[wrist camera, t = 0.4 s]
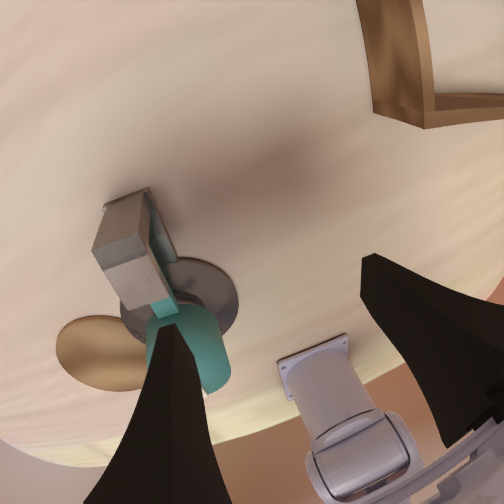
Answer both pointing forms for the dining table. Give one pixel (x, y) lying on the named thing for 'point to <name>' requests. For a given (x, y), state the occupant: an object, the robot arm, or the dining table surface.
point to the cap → (192, 338)
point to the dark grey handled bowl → (155, 266)
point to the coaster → (102, 354)
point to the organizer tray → (413, 70)
